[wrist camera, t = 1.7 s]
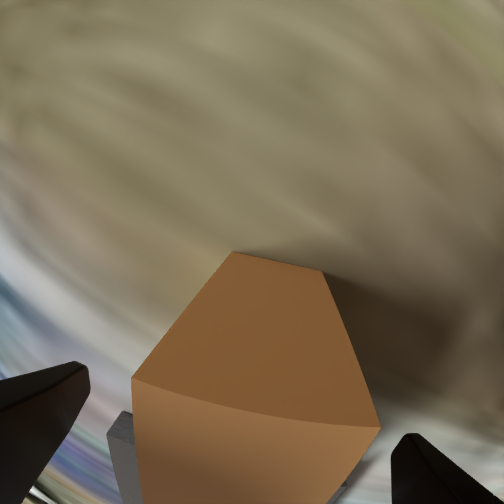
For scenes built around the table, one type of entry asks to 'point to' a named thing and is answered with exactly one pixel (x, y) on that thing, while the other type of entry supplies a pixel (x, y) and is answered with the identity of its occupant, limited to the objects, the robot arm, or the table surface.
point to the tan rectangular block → (252, 393)
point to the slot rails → (126, 460)
